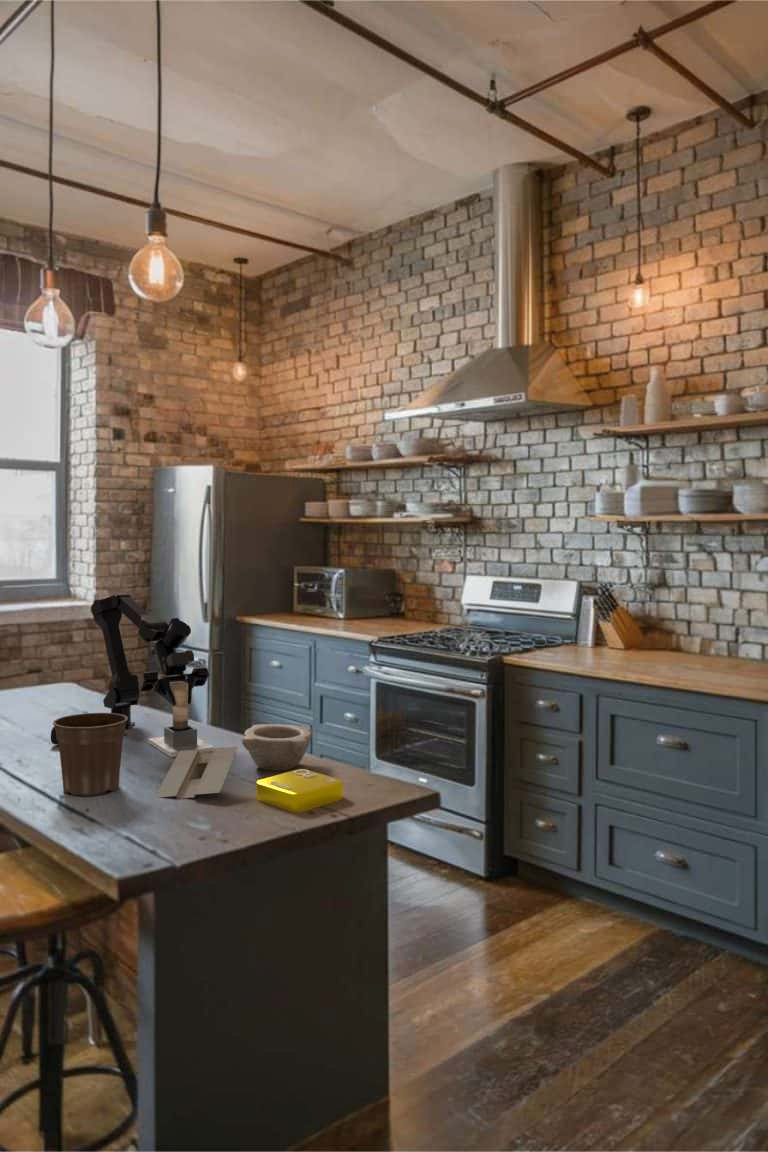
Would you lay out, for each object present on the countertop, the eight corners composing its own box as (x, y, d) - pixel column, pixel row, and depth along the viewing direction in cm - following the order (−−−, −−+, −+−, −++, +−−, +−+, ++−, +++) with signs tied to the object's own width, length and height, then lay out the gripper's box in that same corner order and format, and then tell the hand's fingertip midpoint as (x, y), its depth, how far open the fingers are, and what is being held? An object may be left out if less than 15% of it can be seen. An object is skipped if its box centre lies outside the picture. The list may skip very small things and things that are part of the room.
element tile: (252, 800, 193) (252, 778, 193) (301, 785, 204) (301, 765, 204) (297, 815, 183) (297, 793, 183) (347, 799, 194) (347, 778, 194)
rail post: (175, 725, 239) (175, 682, 238) (189, 725, 238) (189, 682, 238) (170, 728, 235) (171, 684, 234) (185, 729, 235) (185, 685, 234)
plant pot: (53, 782, 203) (53, 714, 202) (125, 775, 209) (125, 709, 208) (53, 802, 188) (52, 729, 187) (130, 795, 194) (130, 724, 193)
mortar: (305, 777, 210) (305, 739, 210) (236, 774, 211) (236, 737, 211) (315, 759, 227) (316, 724, 226) (252, 756, 228) (252, 722, 228)
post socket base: (148, 743, 241) (148, 724, 241) (189, 737, 248) (189, 719, 247) (171, 757, 226) (171, 737, 226) (214, 751, 233) (214, 732, 233)
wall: (235, 813, 195) (249, 757, 205) (220, 792, 189) (235, 736, 200) (170, 818, 199) (187, 763, 210) (153, 797, 193) (171, 742, 204)
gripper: (142, 642, 233) (156, 690, 225) (207, 638, 244) (223, 683, 235) (132, 667, 240) (145, 714, 232) (196, 662, 251) (211, 707, 242)
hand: (182, 704), depth 235 cm, fingers closed on rail post, 4 cm apart
